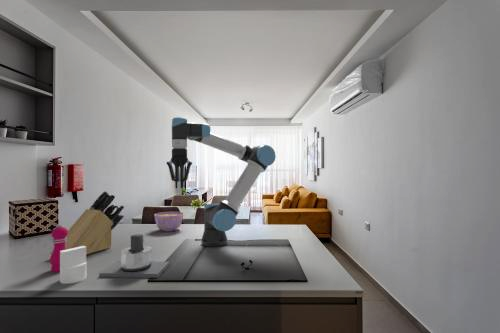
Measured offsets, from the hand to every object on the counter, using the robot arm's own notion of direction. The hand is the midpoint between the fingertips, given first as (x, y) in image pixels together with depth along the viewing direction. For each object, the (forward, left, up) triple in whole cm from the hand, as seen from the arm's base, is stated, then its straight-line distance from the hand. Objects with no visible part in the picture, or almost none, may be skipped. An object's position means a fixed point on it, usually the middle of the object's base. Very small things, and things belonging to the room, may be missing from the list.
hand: (179, 194), depth 145 cm
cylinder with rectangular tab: (+33, +33, -31) cm, 56 cm away
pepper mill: (+46, +23, -31) cm, 60 cm away
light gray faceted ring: (+12, +23, -29) cm, 39 cm away
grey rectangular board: (+12, +23, -30) cm, 40 cm away
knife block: (+49, -4, -31) cm, 58 cm away
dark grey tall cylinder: (+12, +23, -27) cm, 38 cm away
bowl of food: (+24, -55, -31) cm, 67 cm away
